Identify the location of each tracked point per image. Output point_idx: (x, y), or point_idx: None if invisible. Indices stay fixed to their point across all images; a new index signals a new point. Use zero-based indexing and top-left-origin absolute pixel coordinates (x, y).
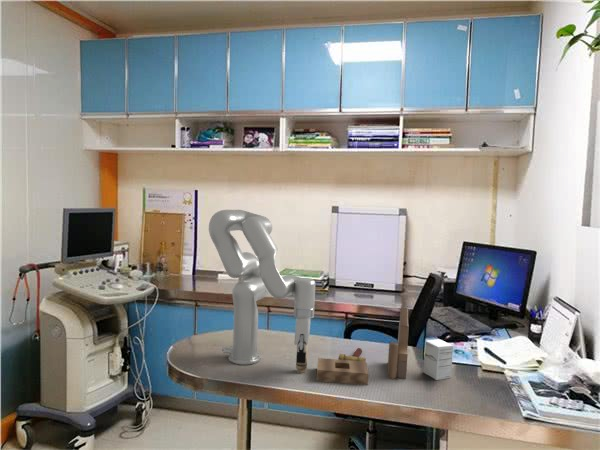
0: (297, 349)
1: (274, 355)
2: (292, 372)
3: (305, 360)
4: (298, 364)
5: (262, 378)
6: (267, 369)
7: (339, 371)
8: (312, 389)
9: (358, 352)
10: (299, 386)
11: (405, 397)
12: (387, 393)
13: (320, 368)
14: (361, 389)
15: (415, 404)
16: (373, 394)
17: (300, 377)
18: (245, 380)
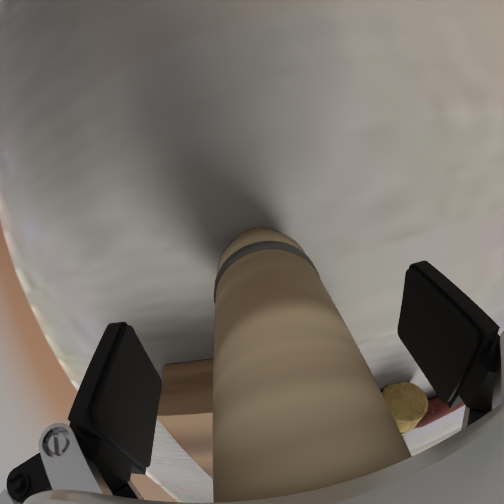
0: (236, 389)
1: (455, 31)
2: (217, 202)
3: (156, 398)
4: (218, 283)
5: (46, 54)
6: (201, 3)
7: (201, 466)
8: (73, 357)
9: (450, 412)
10: (57, 301)
11: (200, 492)
12: (200, 482)
13: (186, 425)
14: (188, 459)
15: (178, 495)
16: (175, 470)
17: (159, 280)
18: (14, 5)
